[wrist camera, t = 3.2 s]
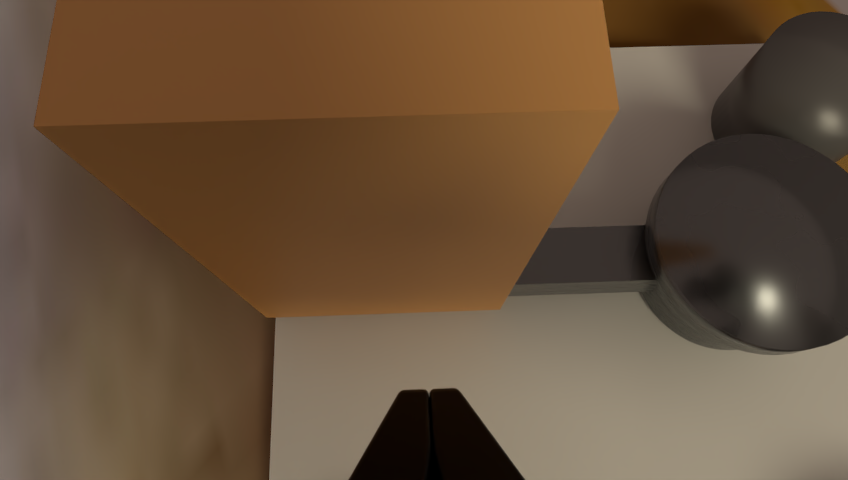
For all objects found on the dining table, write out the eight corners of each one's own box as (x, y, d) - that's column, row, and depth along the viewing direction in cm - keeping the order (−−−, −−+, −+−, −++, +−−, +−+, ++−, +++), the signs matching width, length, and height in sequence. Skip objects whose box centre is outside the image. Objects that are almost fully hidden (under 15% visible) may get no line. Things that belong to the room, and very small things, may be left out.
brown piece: (788, 178, 17) (1266, -166, 8) (833, 362, 16) (1514, 227, 6) (275, 194, 17) (82, -140, 7) (267, 383, 16) (5, 279, 6)
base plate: (1010, 927, 13) (1261, 1134, 9) (262, 968, 13) (194, 1197, 9) (786, 64, 20) (875, -28, 16) (293, 78, 20) (262, -12, 16)
